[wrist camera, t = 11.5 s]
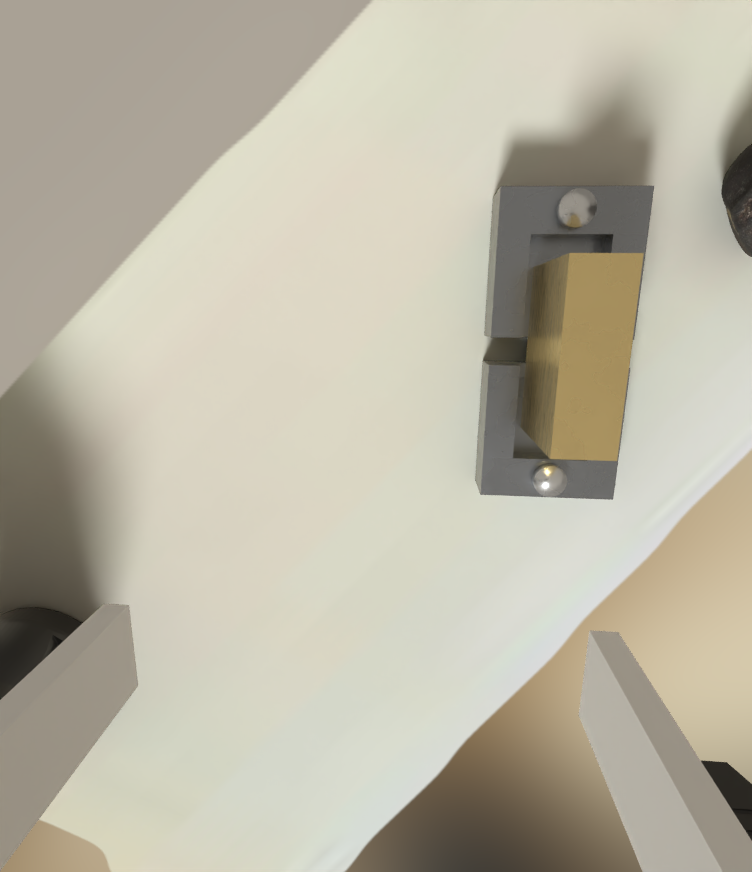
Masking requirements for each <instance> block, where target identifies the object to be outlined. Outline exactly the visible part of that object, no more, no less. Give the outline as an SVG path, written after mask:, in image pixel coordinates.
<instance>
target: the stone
mask: <svg viewBox="0 0 752 872" xmlns="http://www.w3.org/2000/svg"><path fill="white" fill-rule="evenodd" d="M722 198H723V201H724V204H725V206H726V209H727V214H728V218H729V222H730V225H731V228H732V231H733V233H734V235H735V238H736V240H737V241H738V243H739V245H740V246H741V248H742V249H743V250H744V252H745V253H746V254H748V255H749V256H751V257H752V144H751V145H750V146H748V147H747V148H746V149H745V150H744V151H743V152H742V153H741V154H740V155H739V156H738V157H737V159H736V160H735V161H734V163H733V164H732V166H731V167H730V168H729V170H728V172H727V174H726V176H725V178H724V181H723V185H722Z"/></svg>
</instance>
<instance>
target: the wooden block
mask: <svg viewBox="0 0 752 872" xmlns="http://www.w3.org/2000/svg"><path fill="white" fill-rule="evenodd" d="M643 255H644V253H568V254H566V255H563V256H561V257H558V258H556V259H553V260H550V261H548V262H545V263H543V264H540V265H538V266H535V267H533V277H532V289H531V302H530V314H529V327H528V339H527V352H526V364H525V377H524V390H523V402H522V415H521V428H522V429H523V431H524V432H525V433H526V434H527V435H528V436H529V437H530V438H531V439H532V440H533V441H534V442H535V443H536V444H537V446H538V447H539V448H540V449H541V450H542V451H543V452H544V453H545V454H546V455H547V456H548V457H549V458H550V459H565V460H598V461H617V458H618V450H619V442H620V435H621V427H622V419H623V411H624V403H625V396H626V388H627V380H628V372H629V364H630V356H631V349H632V341H633V333H634V325H635V317H636V310H637V302H638V294H639V286H640V278H641V271H642V263H643Z"/></svg>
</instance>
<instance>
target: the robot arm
mask: <svg viewBox="0 0 752 872" xmlns="http://www.w3.org/2000/svg"><path fill="white" fill-rule="evenodd" d="M137 687H138V681H137V672H136V663H135V654H134V645H133V637H132V628H131V619H130V610H129V605H119V604H103V605H102V606H101V607H100V608H99V609H97V610H96V611H95V612H94V613H93V614H92V615H91V616H90V617H89V618H88V619H87V620H86V621H85V622H84V623H80V622H79V621H77V620H75V619H73V618H71V617H69V616H67V615H65V614H62V613H59V612H56V611H52V610H48V609H42V608H22V609H17V610H13V611H9V612H7V613H4V614H2V615H0V871H1V869H2V868H3V867H4V865H5V864H6V863H7V861H8V860H9V859H10V857H11V856H12V855H13V853H14V852H15V850H16V849H17V848H18V846H19V845H20V844H21V842H22V841H23V840H24V838H25V837H26V836H27V834H28V833H29V832H30V830H31V829H32V828H33V826H34V825H35V824H36V822H37V821H38V820H39V818H40V817H41V816H42V814H43V813H44V812H45V810H46V809H47V807H48V806H49V805H50V803H51V802H52V801H53V799H54V798H55V797H56V795H57V794H58V793H59V791H60V790H61V789H62V787H63V786H64V785H65V783H66V782H67V781H68V779H69V778H70V777H71V775H72V774H73V773H74V771H75V770H76V768H77V767H78V766H79V764H80V763H81V762H82V760H83V759H84V758H85V756H86V755H87V754H88V752H89V751H90V750H91V748H92V747H93V746H94V744H95V743H96V742H97V740H98V739H99V738H100V736H101V735H102V734H103V732H104V731H105V730H106V728H107V727H108V725H109V724H110V723H111V721H112V720H113V719H114V717H115V716H116V715H117V713H118V712H119V711H120V709H121V708H122V707H123V705H124V704H125V703H126V701H127V700H128V699H129V697H130V696H131V695H132V693H133V692H134V691H135V689H136V688H137ZM579 717H580V719H581V722H582V724H583V727H584V729H585V732H586V734H587V737H588V739H589V741H590V744H591V746H592V749H593V751H594V753H595V756H596V759H597V761H598V763H599V766H600V768H601V771H602V773H603V776H604V778H605V781H606V783H607V785H608V788H609V790H610V793H611V795H612V798H613V800H614V803H615V805H616V807H617V810H618V812H619V815H620V817H621V820H622V822H623V825H624V827H625V829H626V832H627V834H628V837H629V839H630V842H631V844H632V847H633V849H634V851H635V854H636V856H637V859H638V861H639V864H640V866H641V869H642V871H643V872H752V784H751V783H750V782H749V781H747V780H746V779H745V778H744V777H743V776H742V775H740V774H739V773H738V772H737V771H736V770H735V769H734V768H732V767H731V766H730V765H729V764H728V763H727V762H713V761H700V759H699V758H698V756H697V754H696V753H695V751H694V750H693V748H692V747H691V745H690V744H689V742H688V740H687V739H686V737H685V736H684V734H683V733H682V731H681V729H680V728H679V726H678V725H677V723H676V722H675V720H674V718H673V717H672V716H671V714H670V712H669V711H668V709H667V708H666V706H665V704H664V703H663V701H662V700H661V698H660V697H659V695H658V694H657V692H656V690H655V689H654V687H653V686H652V684H651V683H650V681H649V679H648V678H647V676H646V675H645V673H644V672H643V670H642V668H641V667H640V666H639V664H638V662H637V661H636V659H635V658H634V656H633V654H632V653H631V651H630V650H629V648H628V647H627V645H626V643H625V642H624V640H623V639H622V637H621V636H620V634H619V633H618V632H605V631H590V632H589V639H588V647H587V655H586V663H585V671H584V678H583V686H582V694H581V702H580V709H579Z"/></svg>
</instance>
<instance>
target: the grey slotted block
mask: <svg viewBox="0 0 752 872" xmlns="http://www.w3.org/2000/svg"><path fill="white" fill-rule="evenodd" d="M653 191H654V186H501V187H500V188H499V190H498V191H497V193H496V194H495V196H494V197H493V205H492V221H491V237H490V252H489V268H488V284H487V300H486V316H485V332H484V335H485V336H488V337H505V338H523V337H528V327H529V314H530V302H531V289H532V277H533V267H535V266H538V265H540V264H543V263H545V262H548V261H550V260H553V259H556V258H558V257H561V256H563V255H566V254H568V253H644V255H643V263H642V271H641V278H640V286H639V294H638V302H637V310H636V317H635V325H634V333H633V340H634V336H635V328H636V320H637V313H638V305H639V298H640V290H641V282H642V275H643V267H644V259H645V252H646V244H647V237H648V229H649V221H650V214H651V206H652V198H653ZM525 364H526V362H516V361H483V364H482V380H481V396H480V412H479V428H478V444H477V460H476V476H475V481H476V484H477V486H478V489H479V492H480V494H481V495H507V496H534V497H560V498H586V499H613V496H614V488H615V480H616V473H617V465H618V458H617V461H598V460H565V459H550V458H549V457H548V456H547V455H546V454H545V453H544V452H543V451H542V450H541V449H540V448H539V447H538V446H537V444H536V443H535V442H534V441H533V440H532V439H531V438H530V437H529V436H528V435H527V434H526V433H525V432H524V431H523V429H522V428H521V415H522V402H523V390H524V377H525ZM629 374H630V368H629V372H628V380H627V388H626V396H625V403H624V411H623V419H624V412H625V404H626V397H627V389H628V381H629ZM623 419H622V427H623ZM622 427H621V435H622ZM621 435H620V442H621ZM620 442H619V450H620ZM619 450H618V457H619Z"/></svg>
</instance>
